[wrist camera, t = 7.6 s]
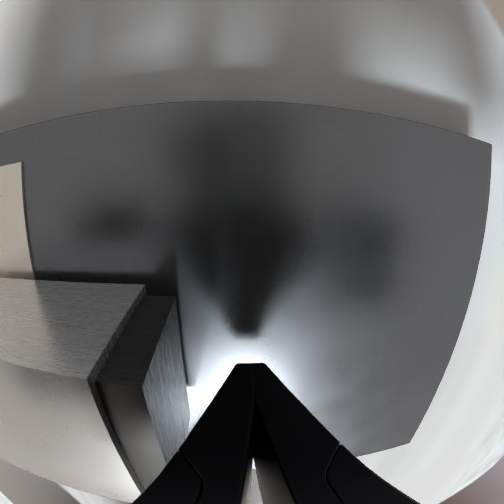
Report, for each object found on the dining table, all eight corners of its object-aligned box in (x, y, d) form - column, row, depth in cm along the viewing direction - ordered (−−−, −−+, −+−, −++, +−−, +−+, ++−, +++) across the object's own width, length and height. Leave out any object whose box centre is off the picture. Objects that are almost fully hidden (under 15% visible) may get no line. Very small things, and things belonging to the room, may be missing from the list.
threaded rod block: (191, 412, 8) (181, 509, 5) (-35, 364, 8) (-75, 410, 4) (176, 285, 7) (135, 386, 4) (-67, 271, 6) (-123, 307, 3)
